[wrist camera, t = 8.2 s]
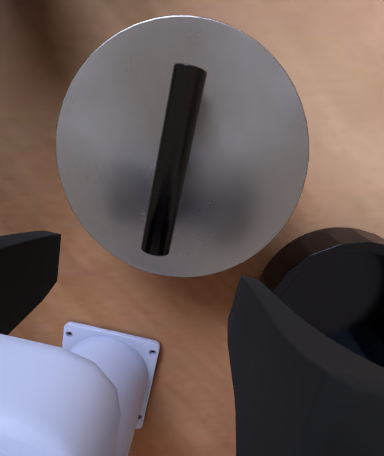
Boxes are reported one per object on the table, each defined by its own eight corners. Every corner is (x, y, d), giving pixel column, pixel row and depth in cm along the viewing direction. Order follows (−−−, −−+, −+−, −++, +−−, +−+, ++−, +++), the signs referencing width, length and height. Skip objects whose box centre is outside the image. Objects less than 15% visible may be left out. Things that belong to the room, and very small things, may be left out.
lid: (338, 57, 14) (405, 13, 9) (263, 290, 17) (283, 345, 13) (78, -3, 14) (9, -80, 9) (56, 243, 17) (-2, 281, 12)
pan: (436, 246, 21) (477, 265, 18) (374, 373, 24) (399, 409, 21) (280, 211, 21) (293, 224, 18) (239, 343, 24) (243, 374, 21)
